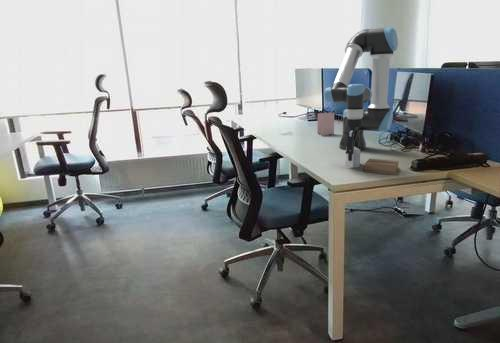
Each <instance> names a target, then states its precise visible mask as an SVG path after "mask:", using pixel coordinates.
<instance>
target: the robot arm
mask: <svg viewBox="0 0 500 343" xmlns="http://www.w3.org/2000/svg"><path fill="white" fill-rule="evenodd" d="M398 40H399V39H398V33H397V30H396V29H395V28H394V27H392V26H391V27H386V26H385V27H377V28H367V29H362V30H360V31H358V32H357V33H355V34H354V35H353V36H352V37H351V38H350V39H349V40H348V42H347V44H346V46H345V48H344V56H343V58H342V61H341V63H340V65H339V69H338V72H337V74H336V75H335V79H334V82H333V84H332V85H331V86H329V87H326V88H325V89H324V92H323V93H324V94H323V95H324V100H325V101H326V102H327V103H334V104H335V103H336V104H337V103H339V104H340V103H343V104H344V103H346V108H345V109H344V110H343V116H342V136H341V137H340V138H341V139H340V142H339V147H338V148H339V149H341V150H345V155H346V154H348V158H347V164H346V167H347V168H351V167H352V169H354V168H353V163H354V154H353V151H354V147H356V148H358V149H360V151H361V150H365V149H366V148H367V144H366V143H367V142H366V138H365V137H364V136H365V135H364V132H367V131H368V132H379V133H380V132H382V133H383V132H387V131H389V130H390V128H391V126H392V123H393V119H394V111H393V110H391V107H390V105H389V104H388V95H389V80H390V66H391V65H390V62H391V57H392V56H394V52H395V51H397V49H398V44H399V43H398ZM365 53H370V54H369V56H370V57H371V58H372V69H371V70H372V71H371V74H372V75H371V88H370V87H368V86H365V84H363V83H352V84H351V83H350V82H351V80H352V77H353V75H354V72H355V70H356V67H357V64H358V63H359V58H360V57H362V55H363V54H365ZM369 101H370V104H369V105H367V109H366V108H365V106H364V104H365V103H368V102H369ZM346 147H347V151H346Z"/></svg>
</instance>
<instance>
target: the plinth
mask: <svg viewBox="0 0 500 343" xmlns="http://www.w3.org/2000/svg"><path fill="white" fill-rule="evenodd" d="M399 170H400V167H399V160H390V159H378V158H376V159H375V158H368V159H367V160H366V162H365V163H364V168H363V171H362V172H364V173H371V174H372V173H373V174H381V175H382V174H383V175H384V174H385V175H393V176H397V174H398V172H399Z"/></svg>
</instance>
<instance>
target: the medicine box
mask: <svg viewBox="0 0 500 343" xmlns="http://www.w3.org/2000/svg"><path fill="white" fill-rule="evenodd" d="M346 151H347V147H346V150H345V152H346ZM353 154H354V163H353V168H352V167H350V168H352V169H354V168H356V169H357V168H361V150H360V149H358V148H356V147H354V151H353ZM347 158H348V154H346V153H345V165H347Z"/></svg>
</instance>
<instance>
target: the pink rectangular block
mask: <svg viewBox="0 0 500 343" xmlns="http://www.w3.org/2000/svg"><path fill="white" fill-rule="evenodd" d="M316 132H317V134H321V135H320V137H325V136H324V135H326V136H330V135H329V134H332V135H335V112H318V113H317V131H316ZM317 134H316V135H317Z"/></svg>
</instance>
